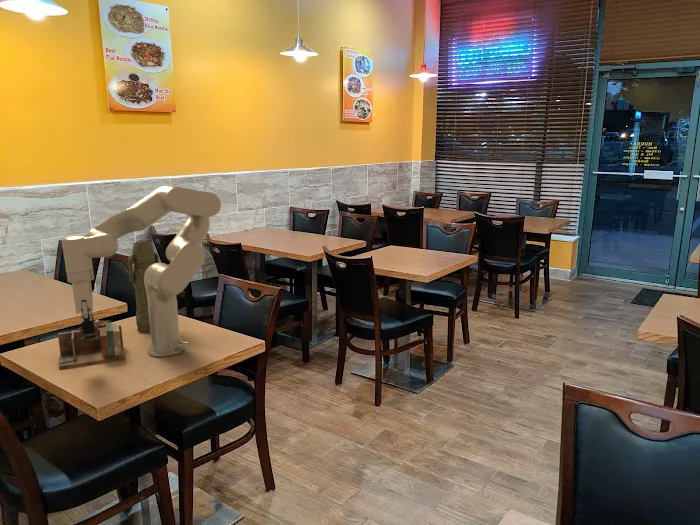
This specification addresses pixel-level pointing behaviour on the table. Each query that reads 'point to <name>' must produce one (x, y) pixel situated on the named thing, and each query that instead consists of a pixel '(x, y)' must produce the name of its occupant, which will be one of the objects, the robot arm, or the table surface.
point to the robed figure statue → (141, 280)
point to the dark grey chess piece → (90, 335)
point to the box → (101, 323)
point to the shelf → (94, 346)
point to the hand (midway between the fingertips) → (88, 329)
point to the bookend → (69, 353)
